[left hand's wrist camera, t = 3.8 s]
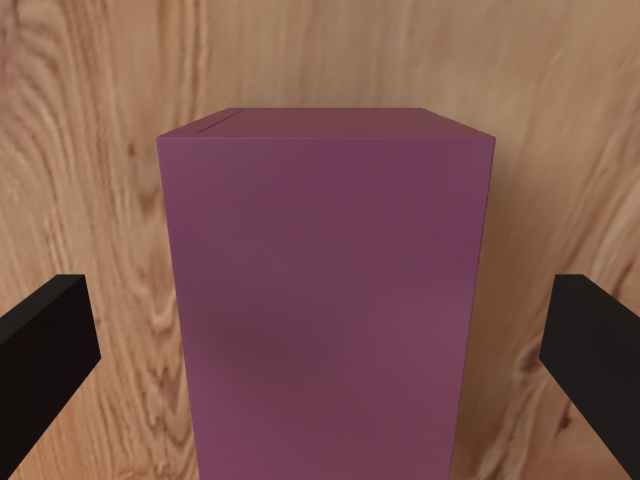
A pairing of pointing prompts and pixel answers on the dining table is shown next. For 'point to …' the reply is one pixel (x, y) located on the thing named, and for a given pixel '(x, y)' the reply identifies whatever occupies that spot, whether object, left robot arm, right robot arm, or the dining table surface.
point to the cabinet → (325, 287)
